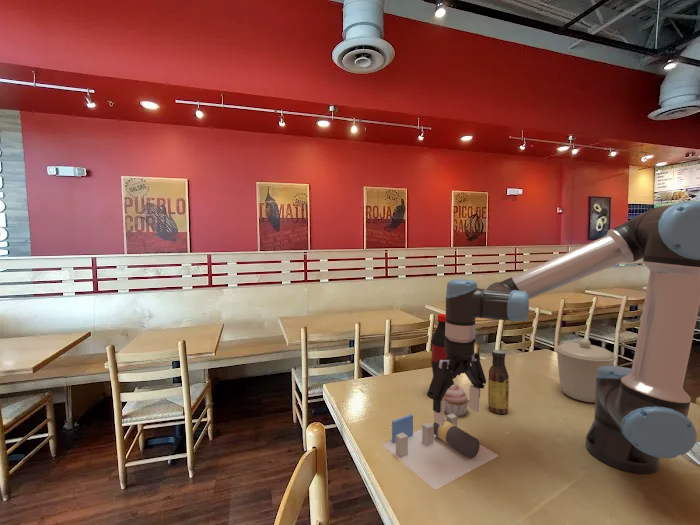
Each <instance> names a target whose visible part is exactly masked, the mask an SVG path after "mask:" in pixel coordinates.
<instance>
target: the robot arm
mask: <svg viewBox="0 0 700 525" xmlns="http://www.w3.org/2000/svg"><path fill="white" fill-rule="evenodd" d="M642 259H643V260H642ZM639 260H642V264H644V265H645V266H646V268H648V270H649V275H648V276H649V277H648V282H647V286H646V292H645V297H644V301H643V307H642V313H641V318H640V323H639V324H640V325H639V328H638V334H637V339H636V340H637V341H636V343H635V344H636V345H635V351H634V356H633V362H632V367H631V368H630V367H623V366H615V365H613V366H602V367H599V368H598V369H597V374H596V377H595V379H596V393H595V402H594V418H593V419H594V420H593V421H592V423H591V425H590V427H589V429H588V430H587V431H588V432H587V434H586V436H585V448H586V449H587V451H588V452H589V454H591V455H592V456H593V457H595V458H596V459H598V460H599V461H601V462H602V463H604V464H606V465H608V466H611V467H613V468H616V469H618V470H621V471H626V472H629V473H633V474H634V473H635V474H644V475H645V474H654V473H655V472H657V471H658V470H659V468H660V459H673V458H676V457H678V456H684V455H685V454H688V453H689V452H690V451H691V450H692V449H693V448H694V446H695V445H696V443H697V437H698V436H697V435H698V434H697V430H696V428H695V425H694V424H693V422H692V421H691V419H690V418H689V417H688V416H689V410H690V406H691V401H692V400H691V399H692V398H691V397H690V395H689V394H688V393H687V392H686V391H685V390H684V382H685V377H686V372H687V368H688V363H689V358H690V353H691V349H692V343H693V339H694V334H695V328H696V324H697V319H698V315H699V314H698V313H699V310H700V200H697V201H696V200H692V201H689V200H688V201H687V200H686V201H685V200H684V201H680V202H677V203H674V204H669V205H663V206H658V207H654V208H652V209H648V210H646V211H644V212H642V213H640V214H639V215H637V216H635V217H633V218H631V219H629V220H628V221H626V222H623V223H622V224H620V225H617V226H615V227H613V228H611V229H608V230H607V233H606V235H605V236H603V237H600V238H598V239H596V240H593V241H592V242H589V243H586V244H584V245H581V246H580V247H578V248H575V249H573V250H570V251H569V252H566V253H563V254H561V255H559V256H556V257H554V258H551V259H550V260H547V261H546V262H542V263H541V264H539V265H536V266H534V267H532V268H528V269H526V270H525V271H522V272H520V273H517V274H516V275H513V276H511V277H508V278H506V279H504V280H502V281H496V282H493V283H491V284H490V285H489V286H488V287H486V288H480V287H478V284H477V282H476V281H475V280H473V279H465V278H462V279H460V278H459V279H456V278H455V279H454V278H453V279H450V280H449V281H448V282H447V284H446V293H445V314H446V320H445V321H446V324H445V336H446V338H445V352H446V354H447V358H446V360H441V359H438V360H437V367H436V371H435V373H434V376H433V375H432V379H431V381H432V382H431V381H430V384H429V388H428V391H427V393H426V397H427V398H429V399H431V400H432V410H433V423H434V422H436V423H437V424H439V425H441V426H444V420H445V410H444V404H445V401H444V400H443V397H444V395H445V393H446V391H447V390H448V388H449V386H450V384H451V382H452V380H453V381H454V379H456V378H457V376H460V375H461V374H465V375H466V377H467V378H468V380H469V381H470V383H471V384H470V385H469V394H468V395H469V397H468V400H469V405H468V409H470V410H472V411H474V412H476V413H479V412H480V399H481V398H480V397H481V389H482V390H483V389H485V385H486V384H487V379H486V375H485V373H484V369H483V366H482V363H481V359H480V358H481V357H480V356H481V355H480V353H478V352H476V351H475V348H476V347H475V346H476V344H475V339H476V318H478V319H489V320H498V321H500V320H501V321H509V322H512V323H513V322H526V321H527V320H528V318H529V312H530V311H529V310H530V300H531V299H534V298H536V297H539V296H541V295H544V294H546V293H549V292H551V291H554V290H557V289H559V288H561V287H564V286H566V285H568V284H571V283H574V282H576V281H578V280H581V279H583V278H585V277H588V276H591V275H593V274H596V273H599V272H602V271H603V270H606V269H608V268H611V267H613V266H616V265H618V264H621V263H626V264H632V263H635V262H638V261H639ZM449 370H450V372H451V373H450V372H448V371H449Z"/></svg>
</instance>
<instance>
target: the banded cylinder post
mask: <svg viewBox="0 0 700 525" xmlns="http://www.w3.org/2000/svg"><path fill="white" fill-rule="evenodd" d="M432 425H434V435H436V436H437V437H439V438H440V439H441V440H443V441H444V442H446V443H447V444H449V445H451V446H452V447H454V448H455V449H457V450H458V451H460V452H461V453H463V454H464V455H466V456H467V457H469V458H474V457H475V456H476V455H477V453H478V451H479V447H480V445H481V444H480V443H481V442H480V440H479V439H477V438H476V437H474V436H472V434H469V433H468V432H466V431H464V430H462V429H461V428H460V427H458V426H457V427H456V426H455V425H453V424H451V423H450V422H448V421H446V419H444V426H441V425H439V424H437V423H436V422H434V421H433V424H432Z"/></svg>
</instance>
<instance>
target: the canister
mask: <svg viewBox="0 0 700 525" xmlns="http://www.w3.org/2000/svg"><path fill="white" fill-rule="evenodd" d="M554 350H555V352H556V354H557V356H556V357H557V366H558V367H557V368H558V375H559V376H558V377H559V383H560V389H561V390H562V392H563V393H564V394H565V395H566V396H568V397H569V398H571V399H575V400H577V401H580V402H586V403H591V404H592V403H595V393H596V379H595V377H596V374H597V369H598V368H599V367H602V366H614V361H615V360H616V359H617V356H616V354H614V353H612V352H611V351H610V350H608V349H607V348H604V347H601V346H597V345H594V344H592V343H591V341H590V340H589V339H586V338H581V339H579V340H578V342H564V343H562V344H558V345H557V346H555V347H554Z"/></svg>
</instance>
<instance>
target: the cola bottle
mask: <svg viewBox="0 0 700 525" xmlns="http://www.w3.org/2000/svg"><path fill="white" fill-rule="evenodd" d="M445 320H446V313H439V314H437V322H438V323H437V327H436V329H435V331H434V333H433V335H432V338H431V340H430V341H431V358H430V361H431V362H430V363H431V369H432V370H431V371H432V377H433V376H434V373H435V371H436V367H437V360H438V359H441V360H446V358H447V354H446V352H445V338H446V336H445V324H446V321H445ZM448 372H450V370H449V371H448ZM450 373H451V372H450ZM431 382H432V380H431V381H430V383H431ZM454 384H455V382H454V379H453V380H452V382H451V384H450V386H449V388H450V387H451V386H452V385H454ZM449 388H448V389H449Z"/></svg>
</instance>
